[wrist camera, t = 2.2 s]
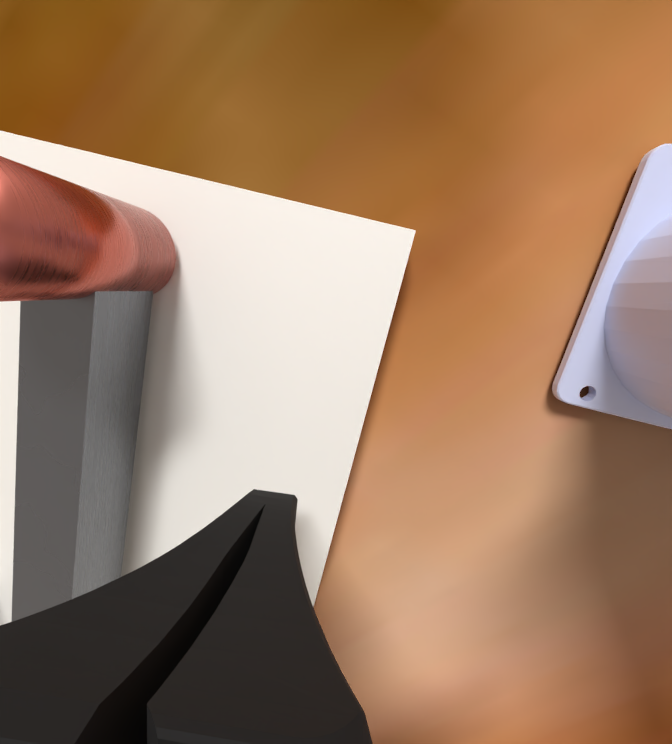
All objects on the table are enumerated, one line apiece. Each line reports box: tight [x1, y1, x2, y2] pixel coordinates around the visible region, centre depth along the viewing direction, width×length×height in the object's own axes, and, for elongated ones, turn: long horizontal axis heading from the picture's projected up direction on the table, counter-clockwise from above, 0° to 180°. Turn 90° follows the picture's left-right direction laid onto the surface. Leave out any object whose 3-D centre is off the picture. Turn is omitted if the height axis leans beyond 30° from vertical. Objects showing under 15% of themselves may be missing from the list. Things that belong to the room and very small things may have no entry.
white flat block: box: [0, 131, 416, 625], centre depth 12 cm, size 16×22×4 cm
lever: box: [0, 156, 176, 622], centre depth 10 cm, size 21×4×5 cm, turn 167°
